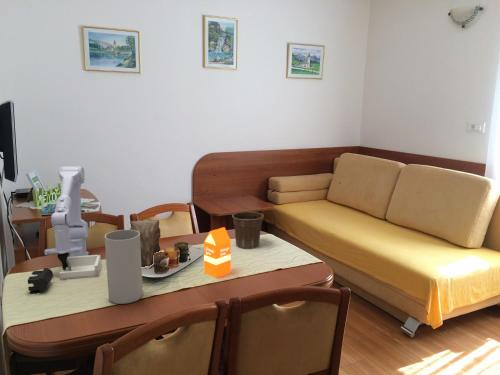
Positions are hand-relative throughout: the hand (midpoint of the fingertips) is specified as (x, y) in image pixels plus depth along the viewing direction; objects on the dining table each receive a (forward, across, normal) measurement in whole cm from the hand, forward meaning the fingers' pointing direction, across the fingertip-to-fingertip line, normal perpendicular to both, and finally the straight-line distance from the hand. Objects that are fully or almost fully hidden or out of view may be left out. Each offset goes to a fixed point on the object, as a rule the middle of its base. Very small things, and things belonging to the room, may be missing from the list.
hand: (65, 269), depth 179 cm
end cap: (+3, -6, -13) cm, 15 cm away
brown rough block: (+2, +33, +4) cm, 34 cm away
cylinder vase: (+2, +27, -28) cm, 38 cm away
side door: (+1, +1, +1) cm, 1 cm away
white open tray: (+2, +6, +1) cm, 7 cm away
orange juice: (+2, +64, -12) cm, 66 cm away
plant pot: (+2, +85, +20) cm, 88 cm away
